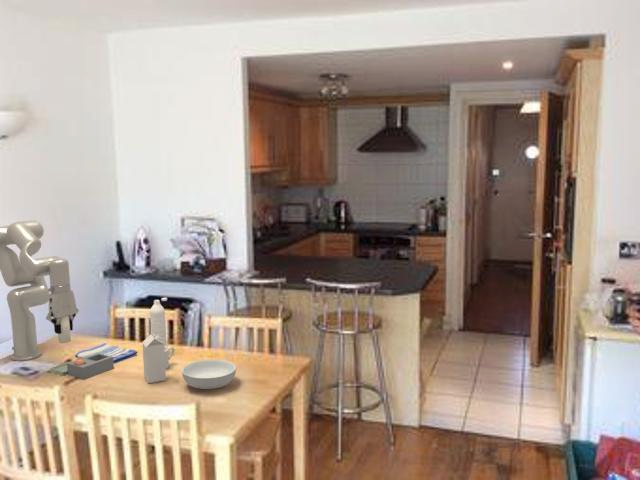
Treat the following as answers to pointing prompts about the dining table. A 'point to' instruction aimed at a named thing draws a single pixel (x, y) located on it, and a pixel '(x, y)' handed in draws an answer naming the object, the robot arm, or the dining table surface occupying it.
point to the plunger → (79, 362)
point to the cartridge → (64, 330)
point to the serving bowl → (209, 373)
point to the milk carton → (154, 359)
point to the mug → (168, 355)
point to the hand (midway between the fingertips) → (64, 331)
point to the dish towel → (108, 352)
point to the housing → (91, 366)
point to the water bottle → (158, 320)
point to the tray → (60, 369)
